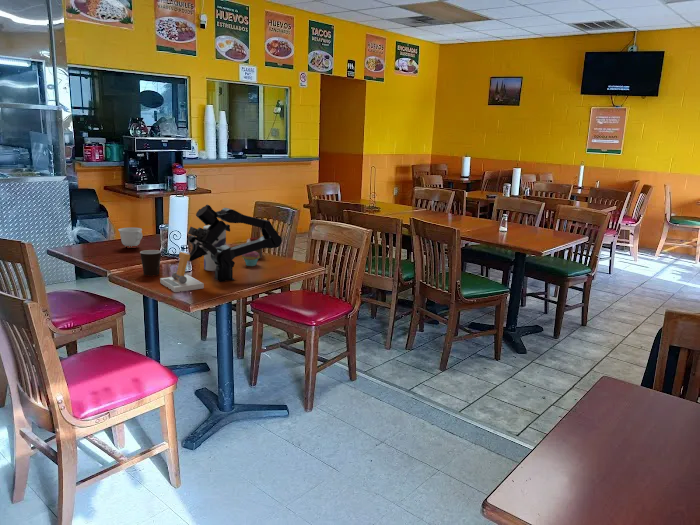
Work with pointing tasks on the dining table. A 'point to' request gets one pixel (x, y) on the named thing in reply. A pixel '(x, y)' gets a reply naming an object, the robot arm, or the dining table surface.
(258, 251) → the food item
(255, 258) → the cupcake
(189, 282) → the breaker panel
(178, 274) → the lever
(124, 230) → the teacup
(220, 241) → the container
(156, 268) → the coffee mug
